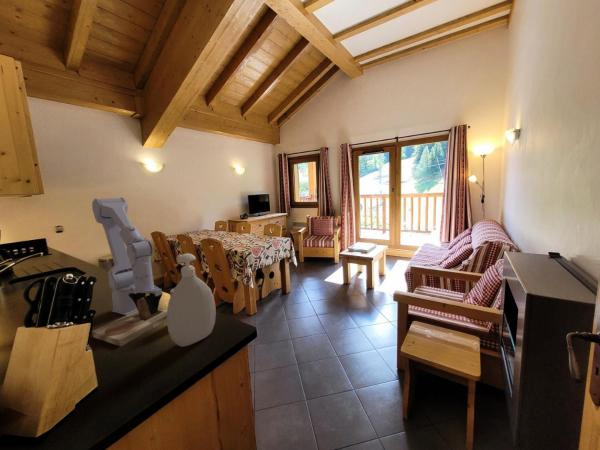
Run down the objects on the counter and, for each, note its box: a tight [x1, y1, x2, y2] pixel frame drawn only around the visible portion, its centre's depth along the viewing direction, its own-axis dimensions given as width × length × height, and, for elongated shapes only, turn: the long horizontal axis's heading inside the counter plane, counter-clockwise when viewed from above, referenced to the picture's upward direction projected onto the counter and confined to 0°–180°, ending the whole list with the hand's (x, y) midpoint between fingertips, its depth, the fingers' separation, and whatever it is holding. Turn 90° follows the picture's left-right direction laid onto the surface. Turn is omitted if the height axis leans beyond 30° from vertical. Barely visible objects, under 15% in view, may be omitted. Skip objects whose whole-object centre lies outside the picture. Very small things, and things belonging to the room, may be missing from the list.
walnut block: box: [137, 297, 157, 321], centre depth 90 cm, size 4×4×8 cm
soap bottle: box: [166, 252, 217, 348], centre depth 76 cm, size 14×8×27 cm, turn 138°
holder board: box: [91, 307, 168, 347], centre depth 87 cm, size 14×19×2 cm
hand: (147, 311), depth 91 cm, fingers open, 6 cm apart
